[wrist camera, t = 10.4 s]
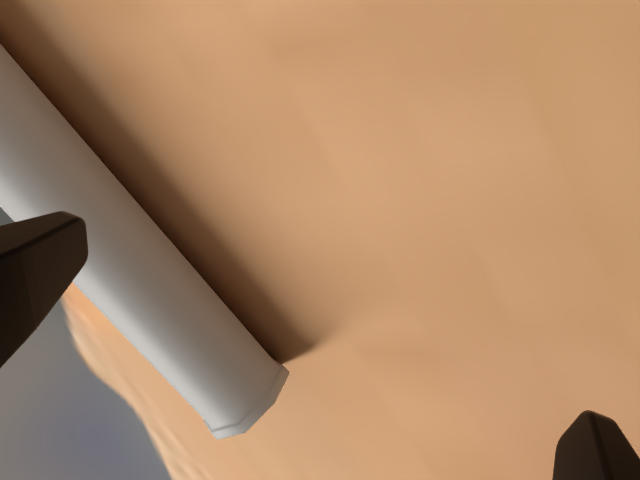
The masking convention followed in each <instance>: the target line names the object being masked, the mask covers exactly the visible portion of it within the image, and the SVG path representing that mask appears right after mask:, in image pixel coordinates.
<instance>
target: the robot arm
mask: <svg viewBox="0 0 640 480" xmlns="http://www.w3.org/2000/svg"><path fill="white" fill-rule="evenodd" d="M87 258H88V241H87V230H86V223H85V221H84V219H83V218H81V217H79V216H76V215H74V214H71V213H68V212H65V211H58V212H53V213H50V214H46V215H42V216H38V217H34V218H30V219H26V220H22V221H18V222H14V223H10V224H6V225H2V226H0V368H1V367H2V366H3V364H5V363H6V361H7V360H8V359H9V358H10V357H11V356H12V355H13V354H14V353H15V352H16V351H17V350H18V349H19V347H20V346H21V345H22V344H23V343H24V342H25V341H26V340H27V339H28V338H29V336H30V335H31V334H32V333H33V332H34V331H35V330H36V329H37V327H38V326H39V325H40V323H41V322H42V321H43V320H44V318H45V317H46V316H47V315H48V313H49V312H50V310H51V309H52V308H53V307H54V305H55V304H56V302H57V301H58V300H59V298H60V297H61V296H62V294H63V293H64V292H65V290H66V289H67V288H68V286H69V285H70V284H71V282H72V281H73V280H74V278H75V277H76V276H77V274H78V273H79V272H80V270H81V269H82V268H83V266H84V265H85V263H86V261H87ZM552 480H640V458H639V457H638V455H637V454H636V452H635V451H634V449H633V448H632V446H631V445H630V443H629V442H628V440H627V439H626V437H625V435H624V434H623V432H622V431H621V429H620V428H619V426H618V425H617V424H616V422H615V421H614V420H612V419H611V418H609V417H606V416H604V415H601V414H598V413H596V412H593V411H589V410H586V411H584V412H582V413H581V414H580V415H579V416H578V417H577V419H576V420H575V421H574V422H573V423H572V424H571V426H570V427H569V428H568V429H567V430H566V431H565V433H564V434H563V435H562V436H561V438H560V439H559V441H558V444H557V447H556V453H555V462H554V470H553V479H552Z"/></svg>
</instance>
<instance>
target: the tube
mask: <svg viewBox="0 0 640 480" xmlns="http://www.w3.org/2000/svg"><path fill="white" fill-rule="evenodd" d="M0 207H1V208H2V209H3V210H4V211H5V212H6V213H7V214H8V215H9V216H10V217H11V218H12V219H13V220H14V221H15V222H18V221H22V220H26V219H30V218H34V217H38V216H42V215H46V214H50V213H53V212H58V211H65V212H68V213H71V214H74V215H76V216H79V217H81V218H83V219H84V221H85V223H86V230H87V241H88V258H87V261H86V263H85V265H84V266H83V268H82V269H81V270H80V272H79V273H78V274H77V276H76V277H75V278H74V280H73V281H72V282H73V283H74V284H75V285H76V286H77V287H78V288H79V289H80V290H81V291H82V292H83V293H84V294H85V295H86V296H87V298H88V299H89V300H90V301H91V302H92V303H93V304H94V305H95V306H96V307H97V308H98V309H99V310H100V311H101V312H102V313H103V314H104V315H105V316H106V317H107V318H108V319H109V320H110V322H111V323H112V324H113V325H114V326H115V327H116V328H117V329H118V330H119V331H120V332H121V333H122V334H123V335H124V336H125V337H126V338H127V339H128V340H129V341H130V342H131V343H132V344H133V346H134V347H135V348H136V349H137V350H138V351H139V352H140V353H141V354H142V355H143V356H144V357H145V358H146V359H147V360H148V361H149V362H150V363H151V364H152V365H153V366H154V367H155V368H156V369H157V371H158V372H159V373H160V374H161V375H162V376H163V377H164V378H165V379H166V380H167V381H168V382H169V383H170V384H171V385H172V386H173V387H174V388H175V389H176V390H177V391H178V392H179V393H180V395H181V396H182V397H183V398H184V399H185V400H186V401H187V402H188V403H189V404H190V405H191V406H192V407H193V408H194V409H195V410H196V411H197V412H198V413H199V414H200V415H201V416H202V417H203V421H204V422H205V424H206V425H207V427H208V429H209V430H210V432H211V433H212V435H213V436H214V437H215V438H216V439H222V438H226V437H230V436H234V435H238V434H243V433H245V432H246V431H247V430H248V429H249V428H250V427H251V426H252V425H253V424H254V423H255V422H256V421H257V420H258V419H259V418H260V417H261V416H262V415H263V414H264V413H265V412H266V411H267V410H268V409H269V408H270V407H271V406H272V405H273V404H274V403H275V401H276V399H277V397H278V395H279V393H280V391H281V389H282V387H283V385H284V383H285V381H286V379H287V377H288V375H289V371H288V370H287V369H286V368H285V367H284V366H283V365H282V364H280V363H279V362H277V361H276V360H274V359H272V358H271V357H270V356H269V355H268V354H267V352H266V351H265V350H264V349H263V348H262V347H261V345H260V344H259V343H258V342H257V341H256V340H255V339H254V337H253V336H252V335H251V334H250V333H249V332H248V330H247V329H246V328H245V327H244V326H243V325H242V323H241V322H240V321H239V320H238V319H237V318H236V316H235V315H234V314H233V313H232V312H231V311H230V310H229V308H228V307H227V306H226V305H225V304H224V303H223V301H222V300H221V299H220V298H219V297H218V296H217V294H216V293H215V292H214V291H213V290H212V289H211V288H210V286H209V285H208V284H207V283H206V282H205V281H204V279H203V278H202V277H201V276H200V275H199V274H198V272H197V271H196V270H195V269H194V268H193V267H192V266H191V264H190V263H189V262H188V261H187V260H186V259H185V257H184V256H183V255H182V254H181V253H180V252H179V250H178V249H177V248H176V247H175V246H174V245H173V243H172V242H171V241H170V240H169V239H168V238H167V237H166V235H165V234H164V233H163V232H162V231H161V230H160V228H159V227H158V226H157V225H156V224H155V223H154V221H153V220H152V219H151V218H150V217H149V216H148V215H147V213H146V212H145V211H144V210H143V209H142V208H141V206H140V205H139V204H138V203H137V202H136V201H135V199H134V198H133V197H132V196H131V195H130V194H129V193H128V191H127V190H126V189H125V188H124V187H123V186H122V184H121V183H120V182H119V181H118V180H117V179H116V177H115V176H114V175H113V174H112V173H111V172H110V170H109V169H108V168H107V167H106V166H105V165H104V164H103V162H102V161H101V160H100V159H99V158H98V157H97V155H96V154H95V153H94V152H93V151H92V150H91V148H90V147H89V146H88V145H87V144H86V143H85V142H84V140H83V139H82V138H81V137H80V136H79V135H78V133H77V132H76V131H75V130H74V129H73V128H72V126H71V125H70V124H69V123H68V122H67V121H66V120H65V118H64V117H63V116H62V115H61V114H60V113H59V111H58V110H57V109H56V108H55V107H54V106H53V104H52V103H51V102H50V101H49V100H48V99H47V98H46V96H45V95H44V94H43V93H42V92H41V91H40V89H39V88H38V87H37V86H36V85H35V84H34V82H33V81H32V80H31V79H30V78H29V77H28V75H27V74H26V73H25V72H24V71H23V70H22V69H21V67H20V66H19V65H18V64H17V63H16V62H15V60H14V59H13V58H12V57H11V56H10V55H9V53H8V52H7V51H6V50H5V49H4V48H3V47H2V45H1V44H0Z"/></svg>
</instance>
